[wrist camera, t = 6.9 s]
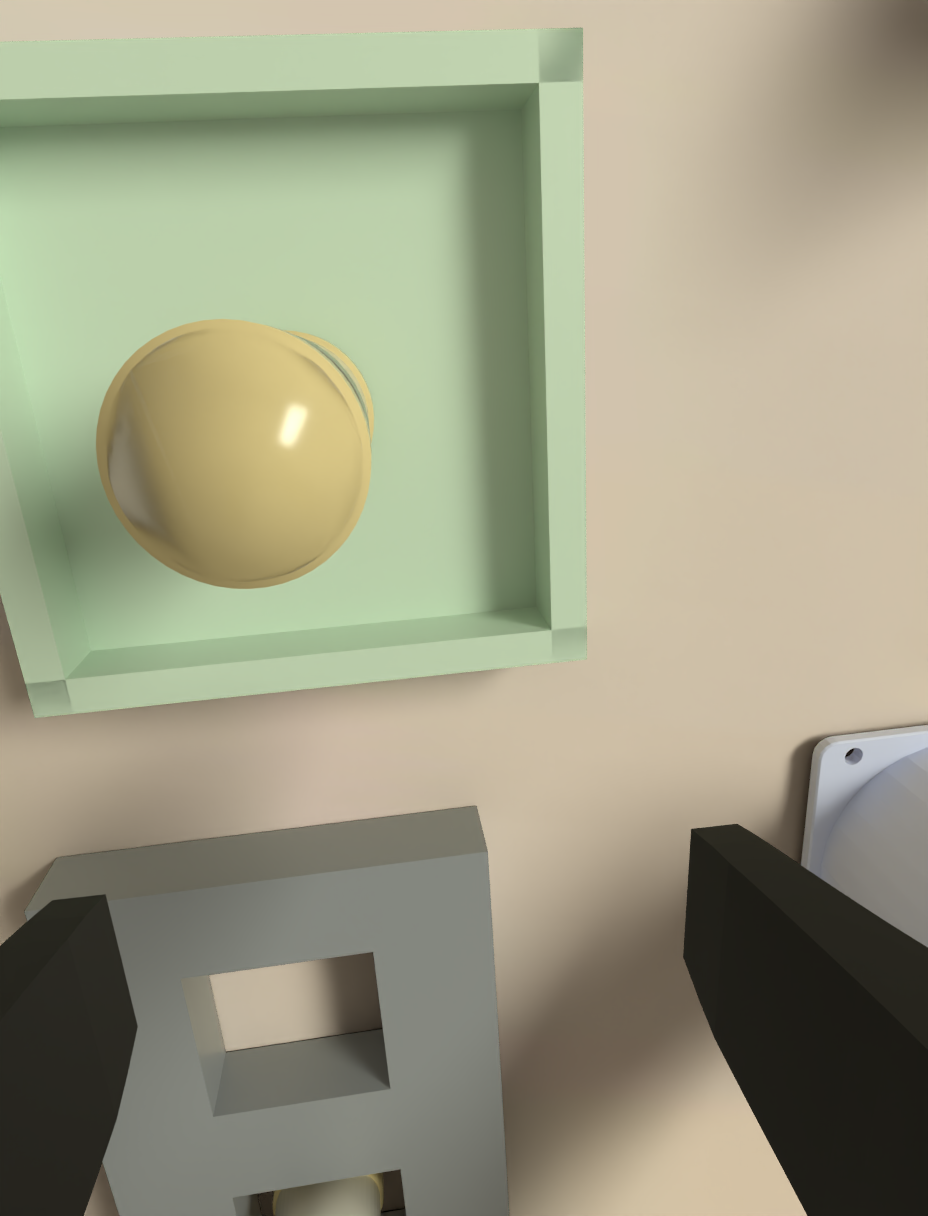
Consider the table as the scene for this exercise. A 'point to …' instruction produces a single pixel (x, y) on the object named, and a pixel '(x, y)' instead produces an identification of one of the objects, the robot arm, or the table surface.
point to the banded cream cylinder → (237, 451)
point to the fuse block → (319, 1068)
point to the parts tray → (309, 303)
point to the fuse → (332, 1198)
